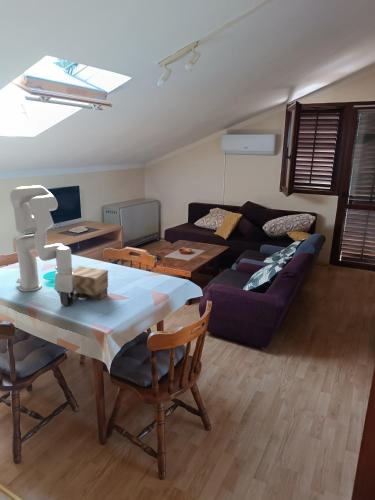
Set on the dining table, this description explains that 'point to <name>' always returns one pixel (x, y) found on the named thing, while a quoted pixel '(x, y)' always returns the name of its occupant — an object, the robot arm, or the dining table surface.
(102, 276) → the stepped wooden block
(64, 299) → the grey mallet
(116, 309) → the dining table surface
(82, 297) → the disc
